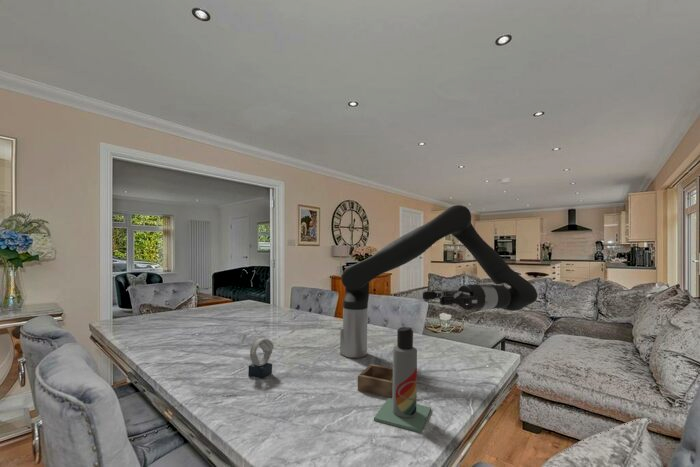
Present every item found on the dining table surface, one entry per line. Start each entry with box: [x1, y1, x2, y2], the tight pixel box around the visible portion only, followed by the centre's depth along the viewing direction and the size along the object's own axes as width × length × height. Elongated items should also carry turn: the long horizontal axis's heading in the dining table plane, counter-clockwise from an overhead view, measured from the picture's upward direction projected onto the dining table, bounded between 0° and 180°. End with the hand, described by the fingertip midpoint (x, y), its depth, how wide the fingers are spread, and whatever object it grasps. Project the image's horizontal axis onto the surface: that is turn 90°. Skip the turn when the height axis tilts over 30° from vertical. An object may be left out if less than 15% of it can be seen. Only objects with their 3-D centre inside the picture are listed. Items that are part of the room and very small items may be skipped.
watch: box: [247, 337, 275, 380], centre depth 99 cm, size 6×8×11 cm
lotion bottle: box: [392, 326, 418, 418], centre depth 77 cm, size 6×6×20 cm
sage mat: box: [373, 397, 432, 434], centre depth 76 cm, size 11×11×1 cm
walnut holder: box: [357, 363, 393, 398], centre depth 91 cm, size 10×10×4 cm
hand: (431, 297), depth 91 cm, fingers open, 8 cm apart
